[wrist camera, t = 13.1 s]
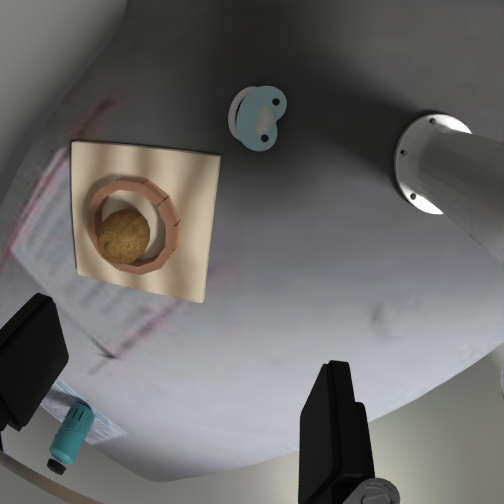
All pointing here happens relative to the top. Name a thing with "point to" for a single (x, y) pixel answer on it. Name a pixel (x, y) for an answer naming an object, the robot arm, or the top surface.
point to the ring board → (147, 213)
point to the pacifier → (256, 116)
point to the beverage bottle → (70, 437)
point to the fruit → (123, 236)
